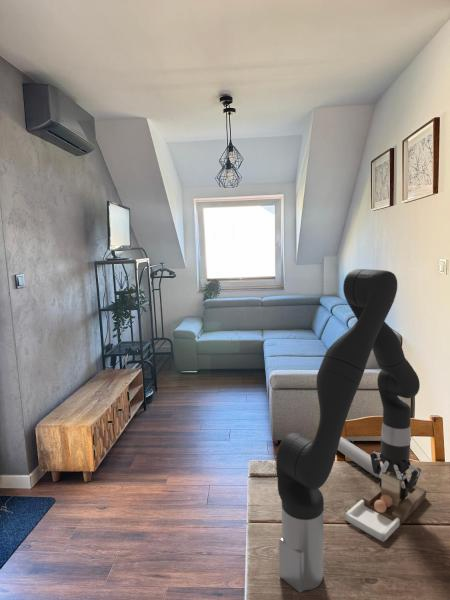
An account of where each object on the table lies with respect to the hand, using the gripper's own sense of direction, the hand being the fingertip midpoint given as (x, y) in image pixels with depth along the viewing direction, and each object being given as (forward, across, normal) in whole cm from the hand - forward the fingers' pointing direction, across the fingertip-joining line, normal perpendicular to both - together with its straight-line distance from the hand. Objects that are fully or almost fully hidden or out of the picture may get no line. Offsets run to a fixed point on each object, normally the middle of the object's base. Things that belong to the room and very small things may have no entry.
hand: (393, 493), depth 115 cm
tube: (+3, -18, +12) cm, 22 cm away
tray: (+3, 0, -12) cm, 12 cm away
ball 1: (0, 0, -6) cm, 6 cm away
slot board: (+3, 0, +1) cm, 3 cm away
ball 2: (+1, 0, -2) cm, 2 cm away
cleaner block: (+2, 0, 0) cm, 2 cm away
